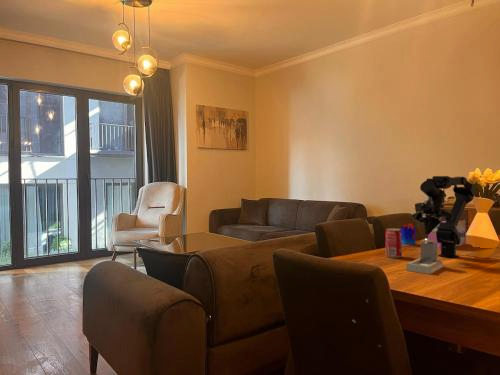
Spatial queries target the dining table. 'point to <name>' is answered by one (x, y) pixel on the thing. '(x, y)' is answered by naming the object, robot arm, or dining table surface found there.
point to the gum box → (460, 228)
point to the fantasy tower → (408, 236)
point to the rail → (424, 266)
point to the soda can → (393, 243)
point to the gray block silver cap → (428, 251)
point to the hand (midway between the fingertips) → (426, 234)
